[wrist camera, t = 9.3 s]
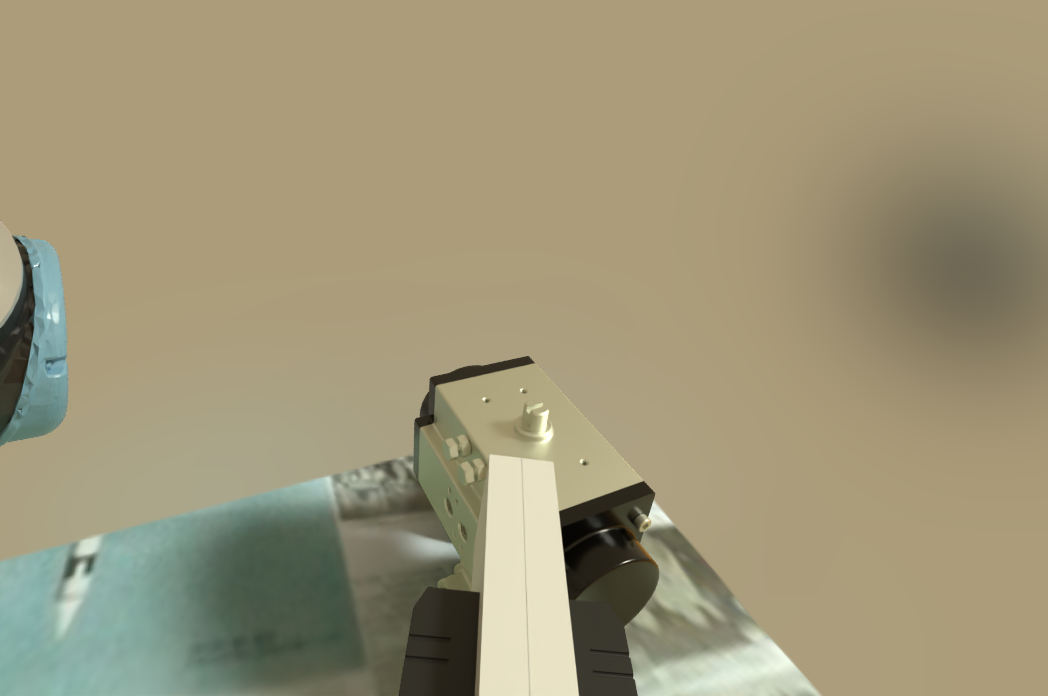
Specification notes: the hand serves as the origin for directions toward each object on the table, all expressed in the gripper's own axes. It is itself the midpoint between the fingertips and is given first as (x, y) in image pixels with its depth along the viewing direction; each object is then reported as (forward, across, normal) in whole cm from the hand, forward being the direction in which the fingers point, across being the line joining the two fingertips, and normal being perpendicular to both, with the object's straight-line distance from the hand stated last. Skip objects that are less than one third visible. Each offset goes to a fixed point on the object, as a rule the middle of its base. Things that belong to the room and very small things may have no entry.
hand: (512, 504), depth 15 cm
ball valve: (+20, +3, -26) cm, 33 cm away
